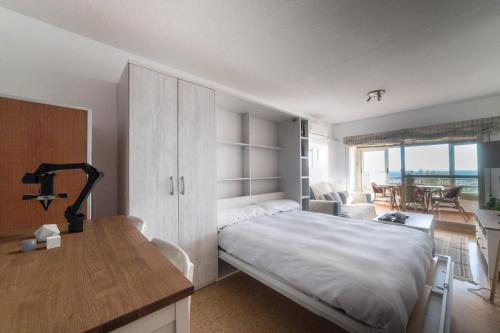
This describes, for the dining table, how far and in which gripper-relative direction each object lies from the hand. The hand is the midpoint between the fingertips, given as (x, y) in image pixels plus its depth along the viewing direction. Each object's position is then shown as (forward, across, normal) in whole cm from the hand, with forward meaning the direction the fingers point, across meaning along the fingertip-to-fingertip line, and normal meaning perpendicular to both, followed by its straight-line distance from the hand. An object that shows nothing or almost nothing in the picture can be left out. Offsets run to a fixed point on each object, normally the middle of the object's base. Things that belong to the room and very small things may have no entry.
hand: (46, 210), depth 117 cm
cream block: (+13, -7, +32) cm, 35 cm away
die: (+13, -3, +18) cm, 22 cm away
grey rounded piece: (+13, +1, +32) cm, 35 cm away
